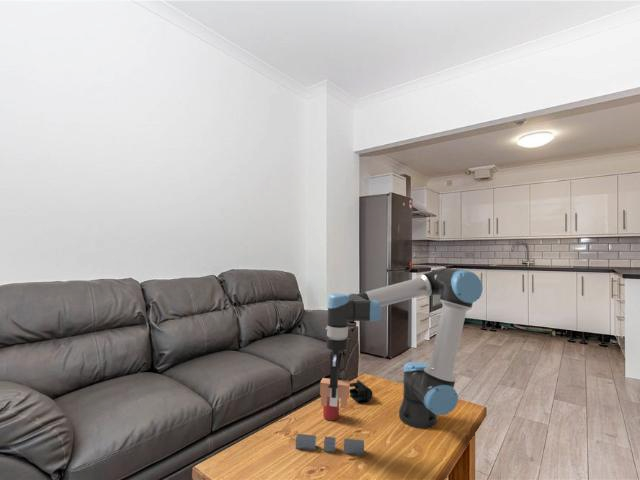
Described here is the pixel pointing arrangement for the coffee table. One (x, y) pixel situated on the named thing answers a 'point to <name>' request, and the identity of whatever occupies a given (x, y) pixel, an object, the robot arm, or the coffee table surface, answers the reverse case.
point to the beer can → (331, 411)
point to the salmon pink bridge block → (342, 391)
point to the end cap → (360, 392)
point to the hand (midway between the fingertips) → (334, 402)
